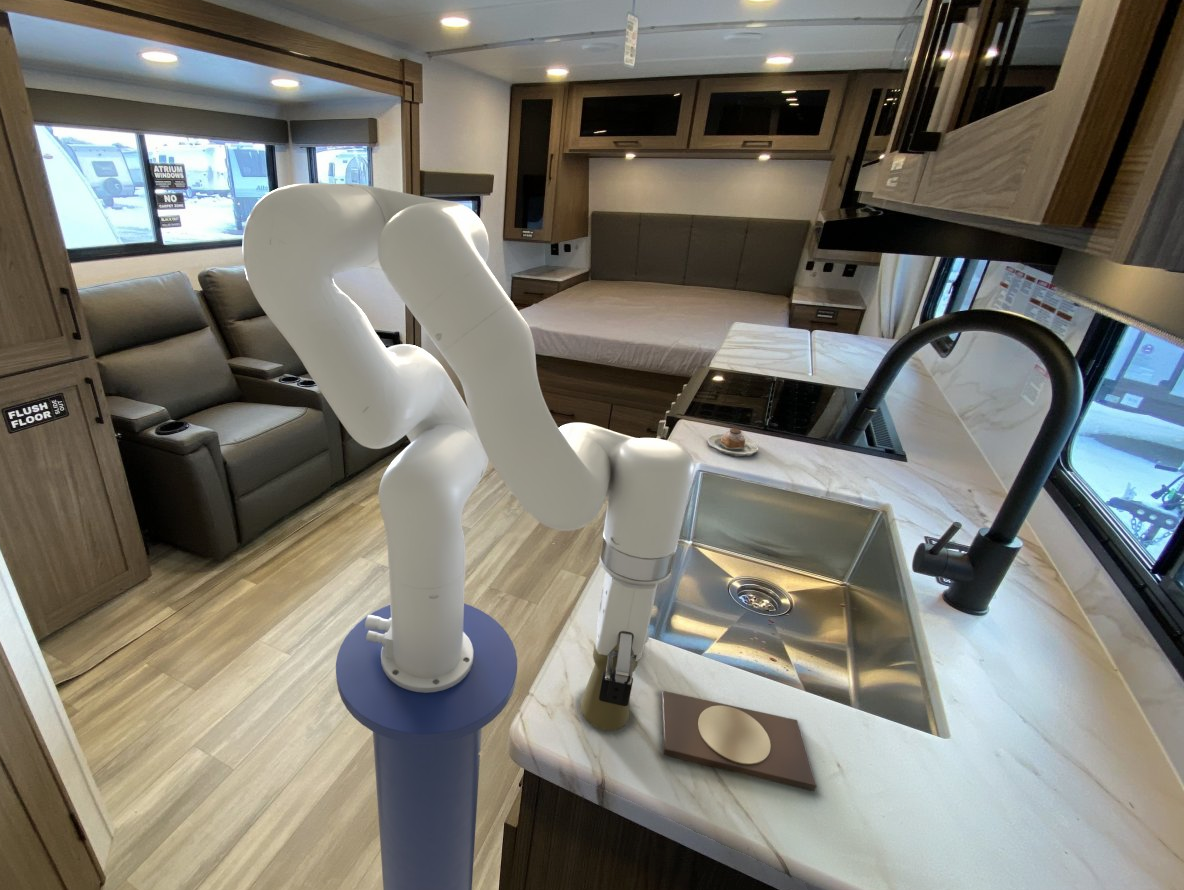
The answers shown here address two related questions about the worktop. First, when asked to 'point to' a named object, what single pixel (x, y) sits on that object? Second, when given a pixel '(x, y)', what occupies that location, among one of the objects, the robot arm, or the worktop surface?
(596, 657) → the pepper shaker
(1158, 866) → the worktop surface
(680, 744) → the serving board
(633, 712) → the worktop surface
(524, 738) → the worktop surface
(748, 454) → the pastry
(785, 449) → the worktop surface
